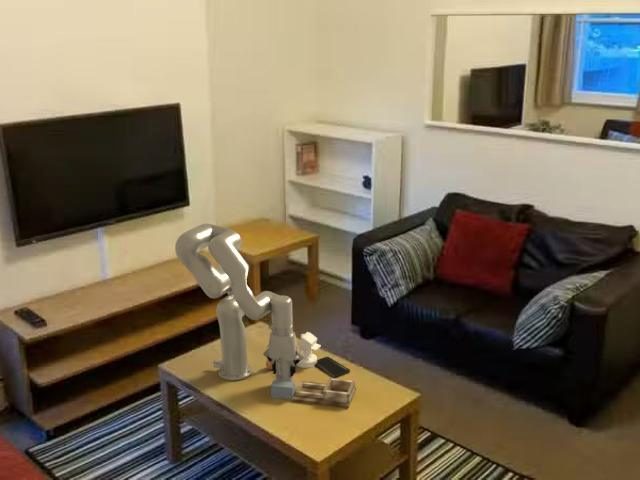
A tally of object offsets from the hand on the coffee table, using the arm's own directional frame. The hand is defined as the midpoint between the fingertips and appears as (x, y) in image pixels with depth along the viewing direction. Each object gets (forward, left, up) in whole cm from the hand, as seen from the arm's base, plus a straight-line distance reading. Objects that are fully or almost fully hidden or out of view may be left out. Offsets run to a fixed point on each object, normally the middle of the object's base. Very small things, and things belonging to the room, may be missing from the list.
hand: (284, 373), depth 262 cm
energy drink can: (0, 0, -5) cm, 5 cm away
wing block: (+2, -8, -5) cm, 10 cm away
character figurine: (+4, +18, -5) cm, 19 cm away
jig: (+16, -4, -5) cm, 18 cm away
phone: (+14, +16, -5) cm, 22 cm away
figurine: (-8, +11, -5) cm, 14 cm away
